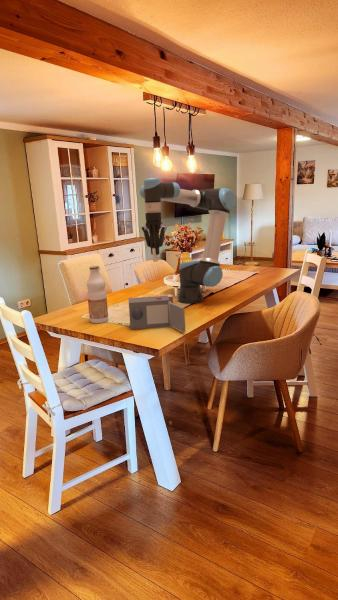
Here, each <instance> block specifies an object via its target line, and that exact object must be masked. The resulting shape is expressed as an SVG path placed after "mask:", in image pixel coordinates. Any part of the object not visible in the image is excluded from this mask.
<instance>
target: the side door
mask: <svg viewBox="0 0 338 600" xmlns="http://www.w3.org/2000/svg"><path fill="white" fill-rule="evenodd" d="M168 304H169V326H170V327H169V328H174V329H177V330H178V331H180V332H182V333H185V332H186V317H185V314H186V313H185V307H184V306H181V305H179V304H177V303H174V302H173V303H171V301H169V302H168Z"/></svg>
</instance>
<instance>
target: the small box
mask: <svg viewBox="0 0 338 600" xmlns="http://www.w3.org/2000/svg"><path fill="white" fill-rule="evenodd" d="M155 296H168V298H169V300H170V301H171V303H174V296H173V294H160V295H155Z"/></svg>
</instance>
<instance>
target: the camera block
mask: <svg viewBox="0 0 338 600" xmlns="http://www.w3.org/2000/svg"><path fill="white" fill-rule="evenodd" d="M169 301H170V300H169V298H168V296H156V295H155V296H143V297H128V313H129V314H128V315H129V326H130V330H132V331H133V330H142V329H155V328H156V329H157V328H166V327H169V328H171V327H170V326H169V304H168V302H169Z"/></svg>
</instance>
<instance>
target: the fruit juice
mask: <svg viewBox="0 0 338 600" xmlns="http://www.w3.org/2000/svg"><path fill="white" fill-rule="evenodd" d="M100 269H101V268H100V266H99V265H91V266H89V278H88V280H87V282H86V288H87V290H88V291H87V294H86V295H87V305H88V315H89V316H88V317H89V322H90V323H92V324H101V323H102V324H103V323H106V322H108V321H109V310H108V300H107V299H108V298H107V296H108V295H107V291H106V289H105V288H106V282H105V279H103V277H102V275H101V272H100Z"/></svg>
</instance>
